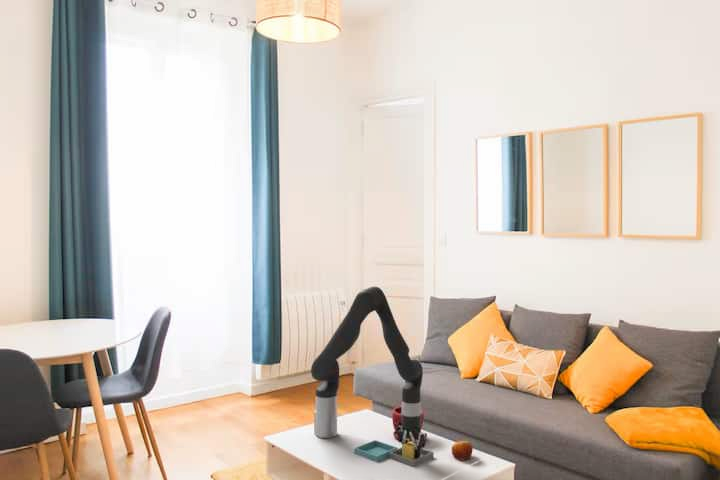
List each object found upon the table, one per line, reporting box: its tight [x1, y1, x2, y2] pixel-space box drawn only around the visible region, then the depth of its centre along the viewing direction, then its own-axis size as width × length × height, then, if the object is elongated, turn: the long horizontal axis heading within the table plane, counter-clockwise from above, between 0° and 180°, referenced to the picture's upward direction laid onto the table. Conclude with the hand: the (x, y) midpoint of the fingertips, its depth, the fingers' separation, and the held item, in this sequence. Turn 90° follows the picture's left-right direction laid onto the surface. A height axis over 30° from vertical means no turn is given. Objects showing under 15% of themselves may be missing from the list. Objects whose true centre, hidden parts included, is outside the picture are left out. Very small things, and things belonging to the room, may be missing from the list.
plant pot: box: [391, 406, 424, 442], centre depth 255 cm, size 13×13×12 cm
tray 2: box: [388, 446, 435, 468], centre depth 233 cm, size 12×12×2 cm
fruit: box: [451, 440, 474, 461], centre depth 233 cm, size 8×8×8 cm
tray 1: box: [353, 439, 399, 462], centre depth 238 cm, size 12×12×2 cm
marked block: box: [401, 441, 420, 460], centre depth 233 cm, size 5×5×5 cm
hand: (411, 456), depth 233 cm, fingers closed on marked block, 5 cm apart
